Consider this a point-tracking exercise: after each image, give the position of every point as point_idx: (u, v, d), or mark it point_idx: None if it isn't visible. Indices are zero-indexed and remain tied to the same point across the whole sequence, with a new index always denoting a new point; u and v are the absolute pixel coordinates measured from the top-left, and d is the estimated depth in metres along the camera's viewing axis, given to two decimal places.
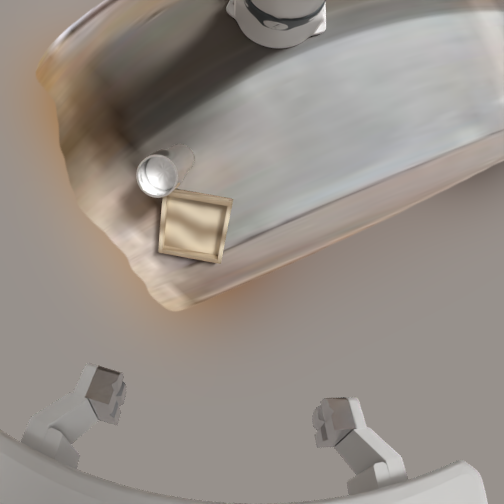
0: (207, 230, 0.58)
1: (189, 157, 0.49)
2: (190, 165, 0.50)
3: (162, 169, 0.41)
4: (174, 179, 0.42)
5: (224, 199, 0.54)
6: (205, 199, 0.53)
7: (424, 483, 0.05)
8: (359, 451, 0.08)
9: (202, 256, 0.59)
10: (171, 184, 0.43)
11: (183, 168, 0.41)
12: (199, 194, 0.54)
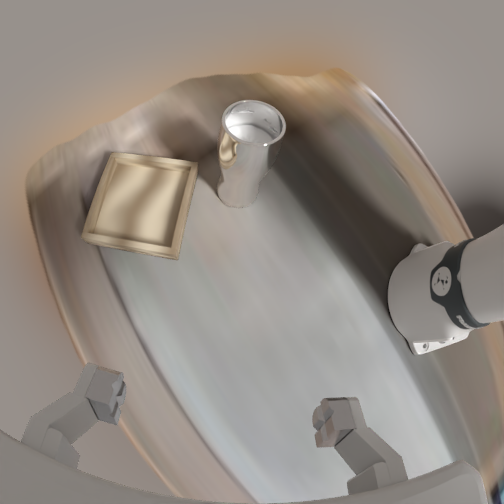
0: (131, 222, 0.36)
1: (245, 196, 0.37)
2: (232, 199, 0.38)
3: (251, 141, 0.30)
4: None
5: (179, 245, 0.36)
6: (182, 216, 0.35)
7: (424, 483, 0.05)
8: (359, 451, 0.08)
9: (94, 212, 0.34)
10: None
11: (255, 164, 0.28)
12: (187, 211, 0.37)
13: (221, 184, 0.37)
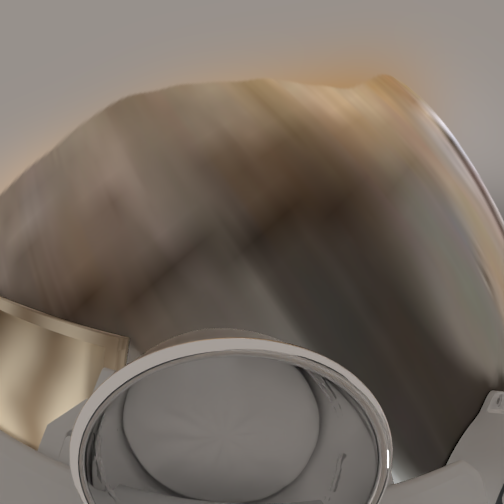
0: (34, 426, 0.13)
1: None
2: None
3: (233, 429, 0.07)
4: (181, 476, 0.07)
5: None
6: None
7: (424, 483, 0.05)
8: None
9: None
10: (154, 461, 0.07)
11: None
12: None
13: None
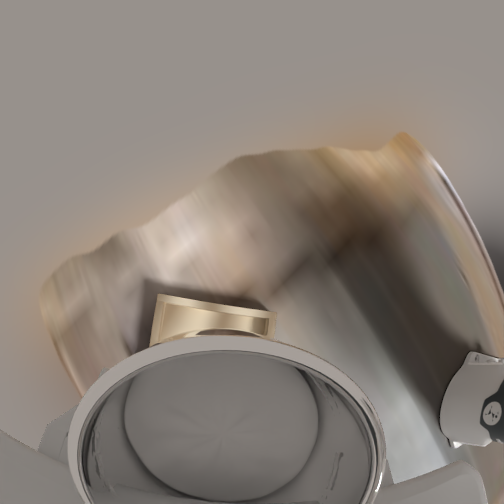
0: None
1: None
2: None
3: (231, 427, 0.07)
4: (181, 474, 0.07)
5: None
6: None
7: (424, 483, 0.05)
8: None
9: None
10: (154, 459, 0.07)
11: None
12: None
13: None
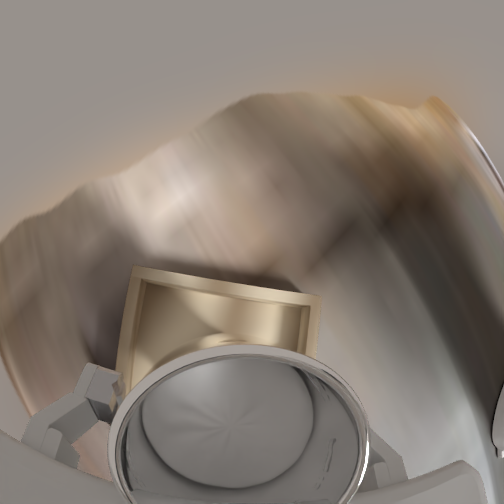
0: None
1: None
2: None
3: (238, 419, 0.09)
4: (195, 464, 0.08)
5: None
6: None
7: (424, 483, 0.05)
8: None
9: None
10: (171, 452, 0.08)
11: None
12: None
13: None
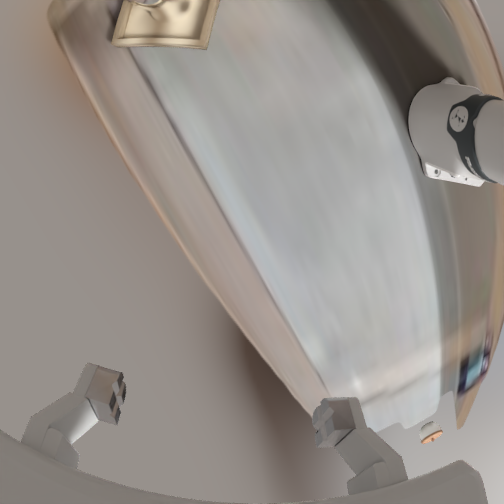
0: None
1: (171, 14, 0.25)
2: (160, 18, 0.26)
3: None
4: None
5: (207, 37, 0.29)
6: (210, 13, 0.26)
7: (424, 483, 0.05)
8: (359, 451, 0.08)
9: (123, 20, 0.25)
10: None
11: None
12: (216, 8, 0.27)
13: None
